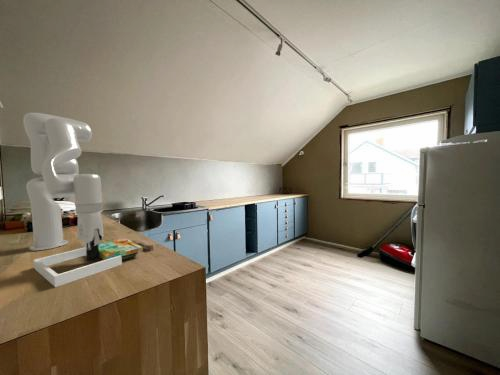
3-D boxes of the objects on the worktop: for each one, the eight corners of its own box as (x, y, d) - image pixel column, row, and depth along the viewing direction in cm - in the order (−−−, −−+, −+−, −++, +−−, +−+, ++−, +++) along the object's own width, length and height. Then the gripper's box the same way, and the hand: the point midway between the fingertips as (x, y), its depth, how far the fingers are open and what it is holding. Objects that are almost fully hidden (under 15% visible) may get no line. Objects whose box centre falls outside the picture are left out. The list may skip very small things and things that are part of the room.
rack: (34, 268, 69) (33, 259, 69) (93, 252, 83) (93, 245, 83) (55, 287, 56) (54, 276, 56) (121, 264, 70) (121, 255, 70)
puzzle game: (125, 236, 90) (142, 244, 76) (125, 246, 90) (143, 257, 77) (92, 243, 81) (105, 254, 68) (92, 254, 81) (106, 268, 68)
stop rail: (130, 245, 91) (130, 240, 91) (133, 244, 92) (133, 240, 92) (150, 251, 83) (150, 246, 82) (153, 250, 84) (152, 245, 83)
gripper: (69, 209, 73) (72, 259, 74) (84, 211, 65) (88, 268, 66) (93, 206, 80) (97, 252, 80) (110, 208, 71) (114, 260, 72)
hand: (93, 259), depth 73 cm, fingers closed
